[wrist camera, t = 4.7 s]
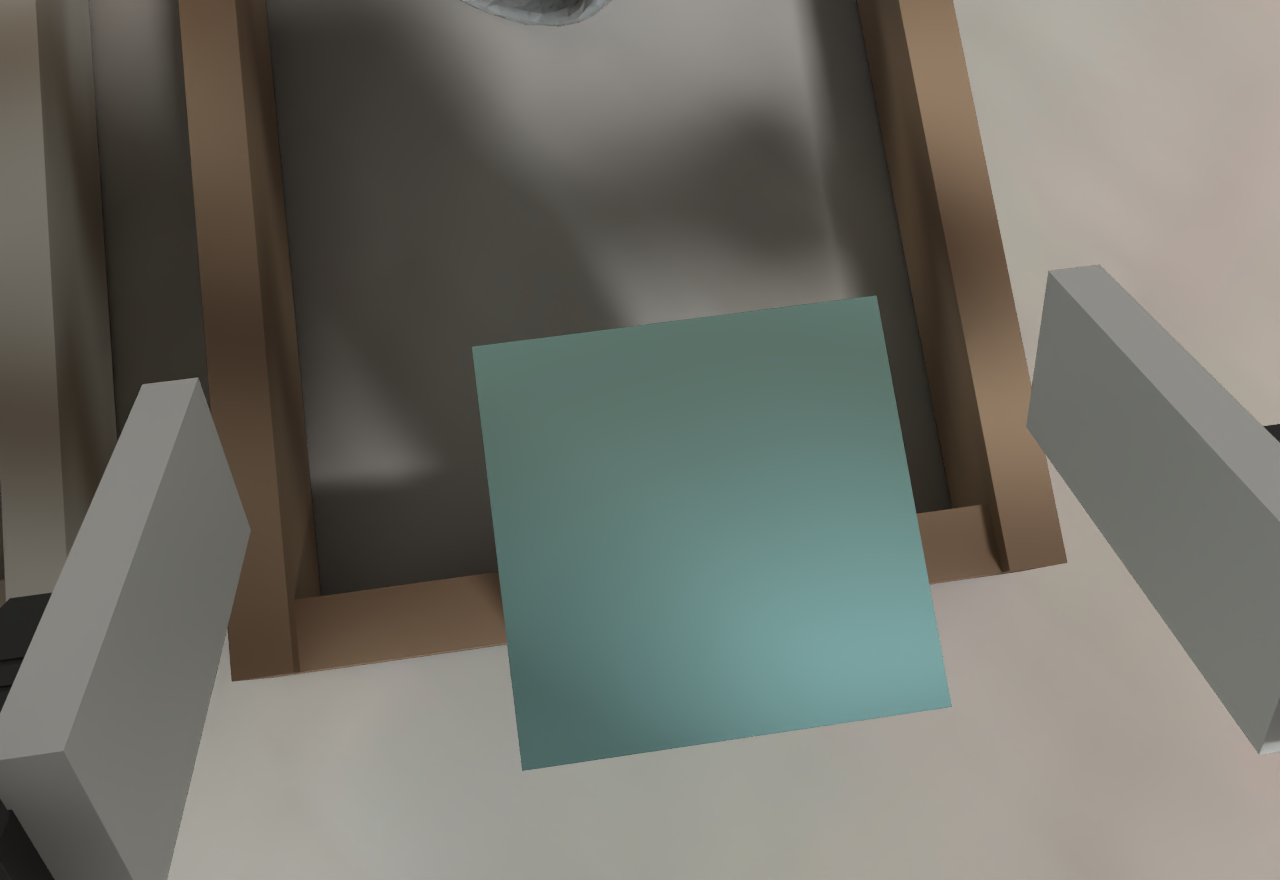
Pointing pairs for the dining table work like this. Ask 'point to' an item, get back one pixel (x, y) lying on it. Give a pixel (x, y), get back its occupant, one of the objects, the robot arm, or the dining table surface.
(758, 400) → the brown open boxy piece
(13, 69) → the block
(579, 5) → the ceramic mug
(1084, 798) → the dining table surface
